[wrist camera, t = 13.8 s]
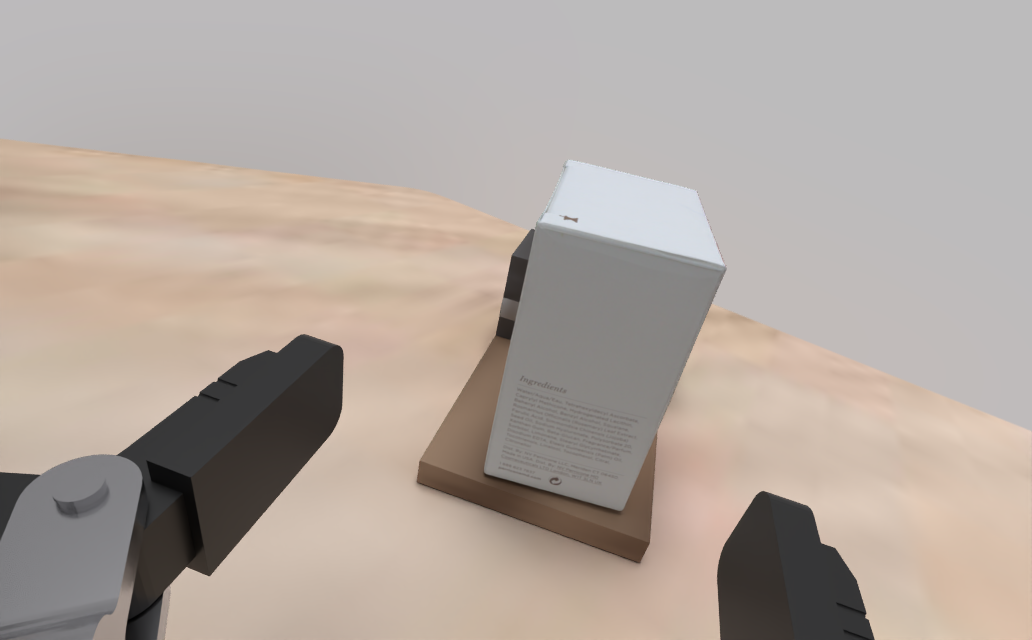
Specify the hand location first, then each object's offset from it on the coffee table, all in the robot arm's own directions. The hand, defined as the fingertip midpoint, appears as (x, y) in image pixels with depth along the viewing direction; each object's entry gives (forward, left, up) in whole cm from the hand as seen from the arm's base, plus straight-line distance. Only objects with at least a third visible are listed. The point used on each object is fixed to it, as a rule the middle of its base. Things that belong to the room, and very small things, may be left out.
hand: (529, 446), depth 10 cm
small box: (+1, +11, -9) cm, 14 cm away
